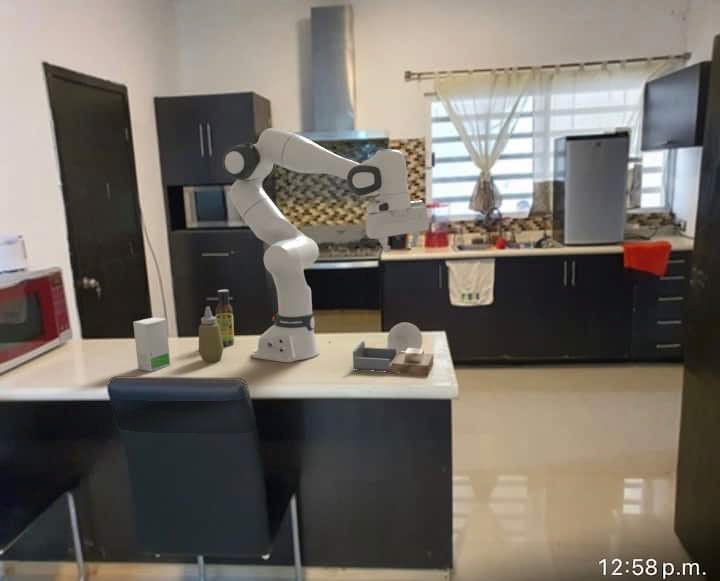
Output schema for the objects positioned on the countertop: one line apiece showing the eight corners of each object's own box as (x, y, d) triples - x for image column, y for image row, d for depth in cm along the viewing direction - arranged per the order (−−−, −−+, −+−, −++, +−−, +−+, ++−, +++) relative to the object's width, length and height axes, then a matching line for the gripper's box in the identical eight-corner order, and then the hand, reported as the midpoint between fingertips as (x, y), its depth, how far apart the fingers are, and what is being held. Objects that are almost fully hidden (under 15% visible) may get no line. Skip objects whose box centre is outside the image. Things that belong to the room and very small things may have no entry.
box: (353, 370, 173) (352, 351, 172) (362, 358, 183) (362, 341, 182) (391, 372, 170) (391, 353, 169) (398, 361, 180) (398, 343, 179)
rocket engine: (394, 314, 202) (401, 315, 184) (419, 334, 202) (429, 337, 184) (374, 339, 201) (380, 343, 183) (399, 359, 201) (408, 365, 183)
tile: (404, 360, 171) (404, 352, 171) (407, 355, 176) (407, 347, 175) (421, 361, 170) (421, 353, 169) (423, 356, 174) (423, 348, 174)
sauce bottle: (216, 347, 200) (211, 292, 196) (217, 342, 206) (213, 289, 202) (234, 346, 201) (230, 291, 197) (235, 341, 207) (231, 288, 203)
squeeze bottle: (229, 357, 189) (225, 305, 185) (213, 365, 181) (209, 310, 178) (210, 354, 192) (206, 303, 188) (194, 362, 185) (189, 308, 181)
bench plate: (391, 372, 170) (391, 363, 169) (398, 361, 180) (398, 352, 180) (428, 375, 167) (428, 365, 166) (433, 363, 177) (433, 354, 177)
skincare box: (150, 372, 176) (145, 324, 173) (136, 369, 179) (131, 322, 176) (171, 364, 183) (167, 318, 180) (158, 361, 186) (153, 316, 183)
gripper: (419, 200, 176) (424, 244, 178) (361, 208, 168) (366, 254, 170) (430, 199, 170) (435, 244, 172) (370, 207, 162) (376, 255, 164)
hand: (400, 249), depth 171 cm, fingers open, 8 cm apart
